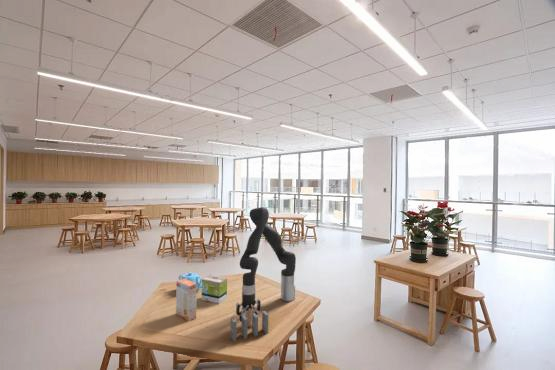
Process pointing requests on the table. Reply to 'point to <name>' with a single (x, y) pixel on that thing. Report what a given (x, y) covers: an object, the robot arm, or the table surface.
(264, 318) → the domino
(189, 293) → the cracker box
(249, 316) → the domino
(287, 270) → the robot arm
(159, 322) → the table surface
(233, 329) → the domino
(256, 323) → the domino
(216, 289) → the tea box
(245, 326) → the domino
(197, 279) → the decorative pot
